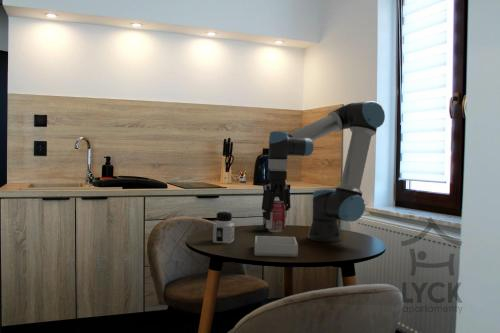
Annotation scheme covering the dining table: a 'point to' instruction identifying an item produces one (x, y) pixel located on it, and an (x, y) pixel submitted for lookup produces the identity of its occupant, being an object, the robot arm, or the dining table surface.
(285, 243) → the bin
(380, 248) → the dining table surface
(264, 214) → the coffee mug
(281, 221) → the soda can
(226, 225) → the container
